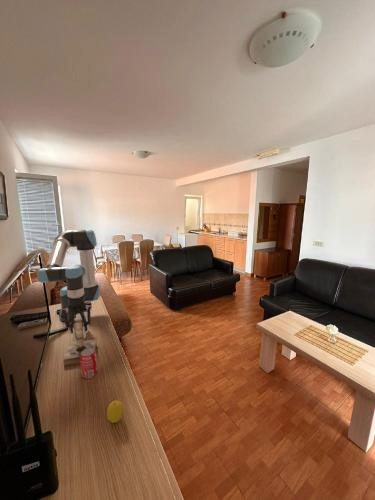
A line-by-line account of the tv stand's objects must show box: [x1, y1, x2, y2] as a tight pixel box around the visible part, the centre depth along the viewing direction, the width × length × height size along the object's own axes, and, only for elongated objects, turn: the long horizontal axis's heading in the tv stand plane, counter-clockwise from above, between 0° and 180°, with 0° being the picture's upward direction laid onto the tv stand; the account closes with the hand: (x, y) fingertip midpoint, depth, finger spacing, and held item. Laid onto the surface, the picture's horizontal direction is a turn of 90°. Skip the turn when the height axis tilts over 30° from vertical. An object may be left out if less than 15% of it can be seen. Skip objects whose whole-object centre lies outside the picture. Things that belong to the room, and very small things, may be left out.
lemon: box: [106, 400, 124, 424], centre depth 76 cm, size 6×6×8 cm
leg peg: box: [73, 319, 85, 347], centre depth 111 cm, size 4×4×14 cm
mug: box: [74, 311, 90, 334], centre depth 134 cm, size 10×7×12 cm, turn 120°
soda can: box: [79, 348, 98, 379], centre depth 98 cm, size 7×7×12 cm
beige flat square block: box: [62, 338, 98, 367], centre depth 113 cm, size 14×14×4 cm
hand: (79, 337), depth 112 cm, fingers closed on leg peg, 4 cm apart
